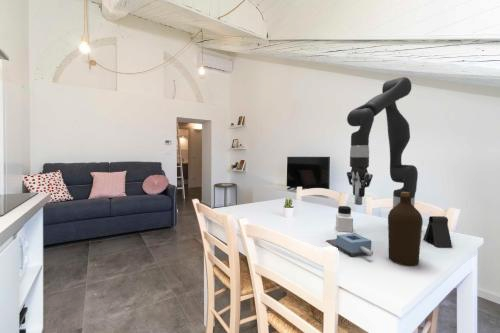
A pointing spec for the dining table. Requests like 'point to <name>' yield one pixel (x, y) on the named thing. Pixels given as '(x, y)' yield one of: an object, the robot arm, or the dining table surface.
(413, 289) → the dining table surface
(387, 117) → the robot arm
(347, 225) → the medicine bottle
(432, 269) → the dining table surface
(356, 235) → the block
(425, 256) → the dining table surface
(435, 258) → the dining table surface
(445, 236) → the black folding stand
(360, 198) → the chuck key
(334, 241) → the rubber pad
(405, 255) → the olive oil
